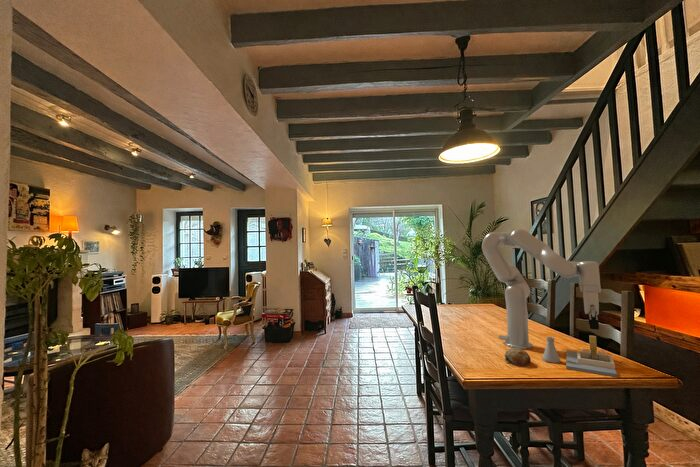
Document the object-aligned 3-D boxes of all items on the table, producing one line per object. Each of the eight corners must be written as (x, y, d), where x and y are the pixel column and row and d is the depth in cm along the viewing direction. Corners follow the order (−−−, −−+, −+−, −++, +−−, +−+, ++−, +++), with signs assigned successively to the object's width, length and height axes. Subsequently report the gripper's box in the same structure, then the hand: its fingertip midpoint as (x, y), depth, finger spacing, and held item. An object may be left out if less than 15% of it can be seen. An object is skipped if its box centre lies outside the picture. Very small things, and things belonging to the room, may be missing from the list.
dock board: (566, 368, 130) (565, 359, 130) (567, 352, 150) (566, 344, 150) (617, 377, 121) (616, 366, 121) (610, 358, 141) (610, 350, 141)
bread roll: (503, 368, 141) (497, 352, 141) (517, 355, 145) (511, 340, 144) (523, 376, 132) (516, 359, 131) (537, 362, 136) (531, 346, 135)
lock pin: (591, 362, 132) (590, 343, 133) (590, 353, 144) (589, 335, 145) (599, 363, 131) (597, 343, 132) (596, 354, 143) (595, 335, 143)
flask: (564, 364, 135) (563, 340, 136) (545, 363, 137) (544, 339, 137) (556, 358, 142) (555, 335, 143) (539, 357, 144) (538, 335, 145)
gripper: (579, 286, 153) (583, 322, 152) (580, 290, 139) (584, 330, 138) (599, 286, 149) (602, 323, 148) (602, 290, 135) (606, 331, 134)
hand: (593, 326), depth 143 cm, fingers open, 9 cm apart
